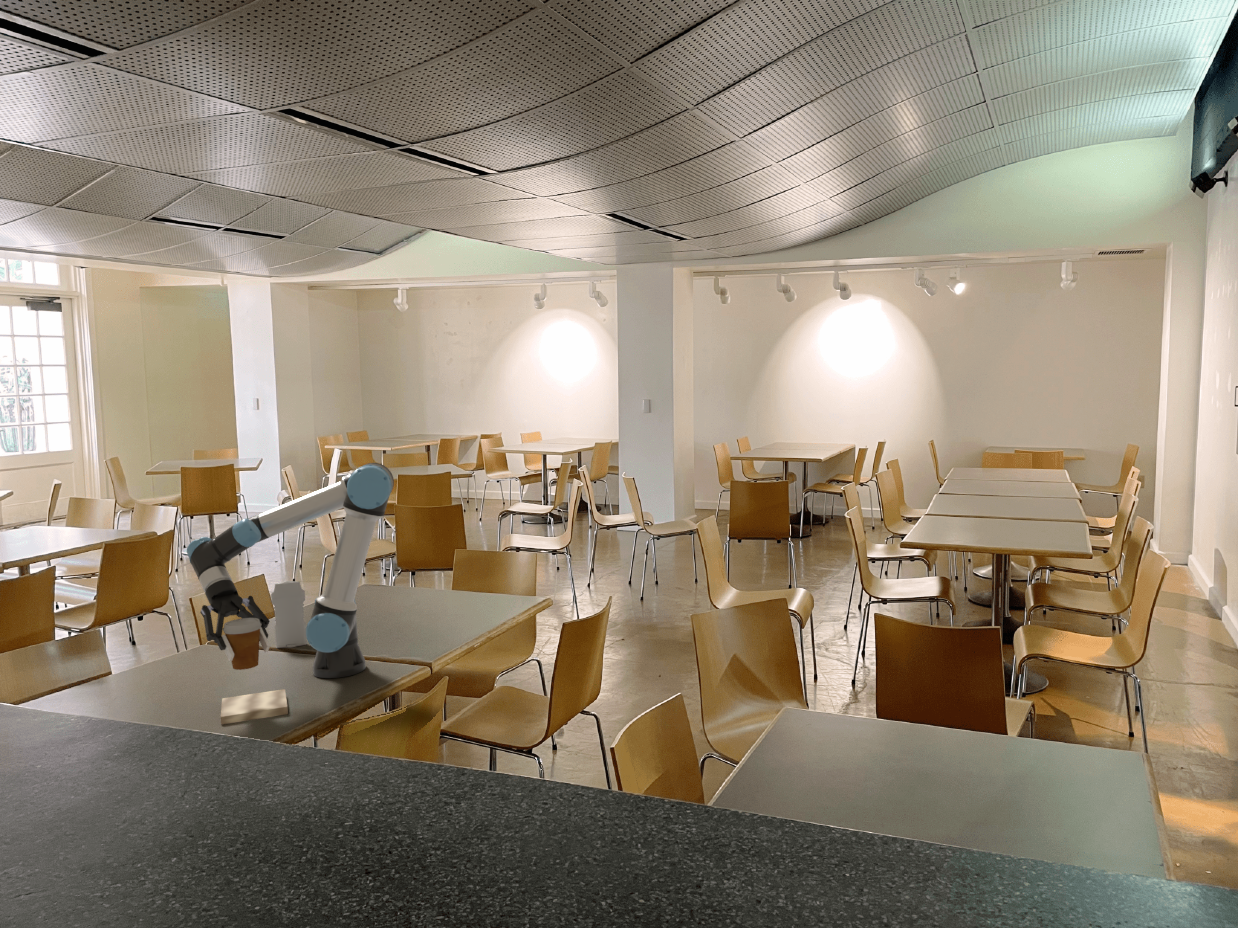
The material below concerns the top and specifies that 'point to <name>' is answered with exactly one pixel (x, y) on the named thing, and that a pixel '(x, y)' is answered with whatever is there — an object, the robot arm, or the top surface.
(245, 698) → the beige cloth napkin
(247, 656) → the disposable coffee cup
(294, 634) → the tall pale column
